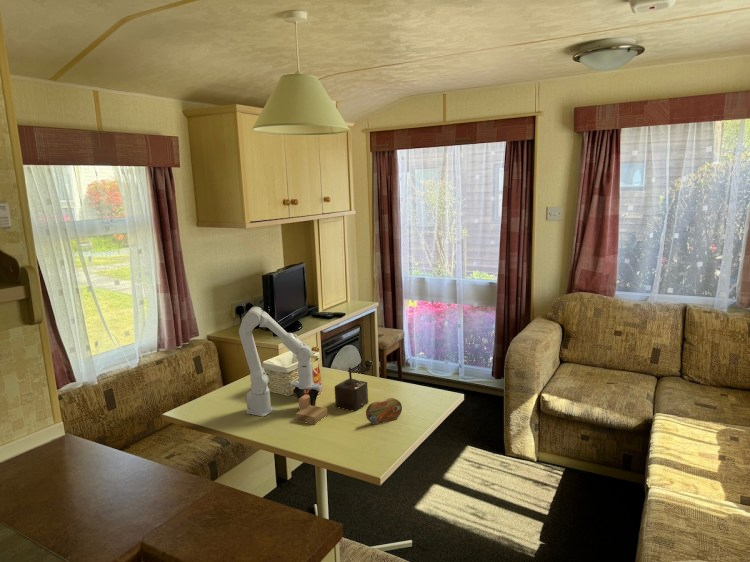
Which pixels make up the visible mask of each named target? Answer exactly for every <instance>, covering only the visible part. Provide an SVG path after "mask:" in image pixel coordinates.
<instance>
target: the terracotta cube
mask: <svg viewBox="0 0 750 562" xmlns="http://www.w3.org/2000/svg"><path fill="white" fill-rule="evenodd" d="M308 405H311V402H310V396H309V395H306V394H305V395H304V396H302V397H301V398H299V400H298V409H299V411H300V410H302V409H303V408H305V407H307V406H308ZM315 406H317V402H316V403H315Z"/></svg>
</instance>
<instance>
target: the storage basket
mask: <svg viewBox="0 0 750 562" xmlns="http://www.w3.org/2000/svg"><path fill="white" fill-rule="evenodd" d="M311 355H316V356H319V357H318V361H319V365H320V361H321V359H320V358H321V356H320V355H321V354H320V352H319V351H315V350H311ZM261 365H262V368H263V369H264V371H265V373H266V374H267V376H268V377H269V382H268V384H267V386H268V388H269V391H270V393H275V394H278V395H281V396H282V395H283V396H286V397H290V396H293V395H296V394H295V393H294V392H293V390H294V389H295V387H291V385H290V383H291V382H293V381H294V382H298V381H299V375H298V359H297V358H296V354H294V353H293V352H291V351H290V350H288V351H286V352H284V353H281V354H278V355H277V356H273V357H271V358H269V359H266V360H264V361H262V363H261Z"/></svg>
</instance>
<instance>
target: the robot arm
mask: <svg viewBox="0 0 750 562" xmlns="http://www.w3.org/2000/svg"><path fill="white" fill-rule="evenodd" d="M258 325H259V328H268V329H269V330H270V331H271V332H273V333H274V334H275V335H276V336H277V337H278V338H279V339H281V341H282V342H281V343H282V345H284V346H285V347H286V348H287V349H288V351H291V352H293V353H294V354H296V358H297V359H298V375H299V382H294V381H293V382H291V383H290V385H291V387H295V389H294V390H293V392H294V393H295V394H294V395H295V396H296V398H297V400H298V401H299V398H301V397H302V396H304V389H311V391H309V392H308V394H309V396H310V402H311V406H315V403H316V404H317V399H318V397H317V395H318V393H319V391H321V390H323V384H322V385H318V384H315V383H313V377H312V363H311V351H312V349H311V347H310V345H309V344H307V343H305V342H303V341H302V340H300V339H299V338H298V335H297V334H296V333H292V332H287V331H286V330H285V329H284V328H283V327H282V326H281V325H280V324H278V322H276V320H275V319H274V318H272V316H270V315H269V313H267V311H265V310H263V308H261V307H259V306H252V307H251V308H249V310H247V312H246V313H245V315H244V316H243V317H242V318H241V323H240V325H239V328H238V335H239V338H240V341H241V345H242V348H243V349H242V350H243V351H244V355H245V359H246V362H247V365H248V368H249V373H250V390H249V391H248V392H247V393H246V397H245V398H246V399H245V400H246V409H247V410H246V412H245V413H246V414H249V415H253V416H257V417H265V416H268V415H269V414H271V413H272V412H274V411H276V407H272V404H271V392H270V391H269V388H268V386H267V384H268V382H269V377H268V376H267V374H266V373H265V371H264V369H263V365H262V363H261V359H260V356H259V352H258V350H257V346H256V342H255V338H254V334H253V330H254V329H255V328H256V327H257V326H258Z"/></svg>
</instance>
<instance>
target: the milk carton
mask: <svg viewBox="0 0 750 562" xmlns="http://www.w3.org/2000/svg"><path fill="white" fill-rule="evenodd" d="M318 357H319V356H316V355H311V363H312V377H313V383H315V384H318V385H322V386H323V382H322V380H323V379H322V375H321V374H322V373H321V369H320V368H321V367H320V364H319V361H318ZM298 382H299V381H298ZM309 391H311V389H304V395H305V394H306V395H309V394H308V392H309ZM321 394H323V389H322V390H321V391H319V393H318V395H317V398H319V397H321V396H322V395H321ZM320 395H321V396H320Z"/></svg>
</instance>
